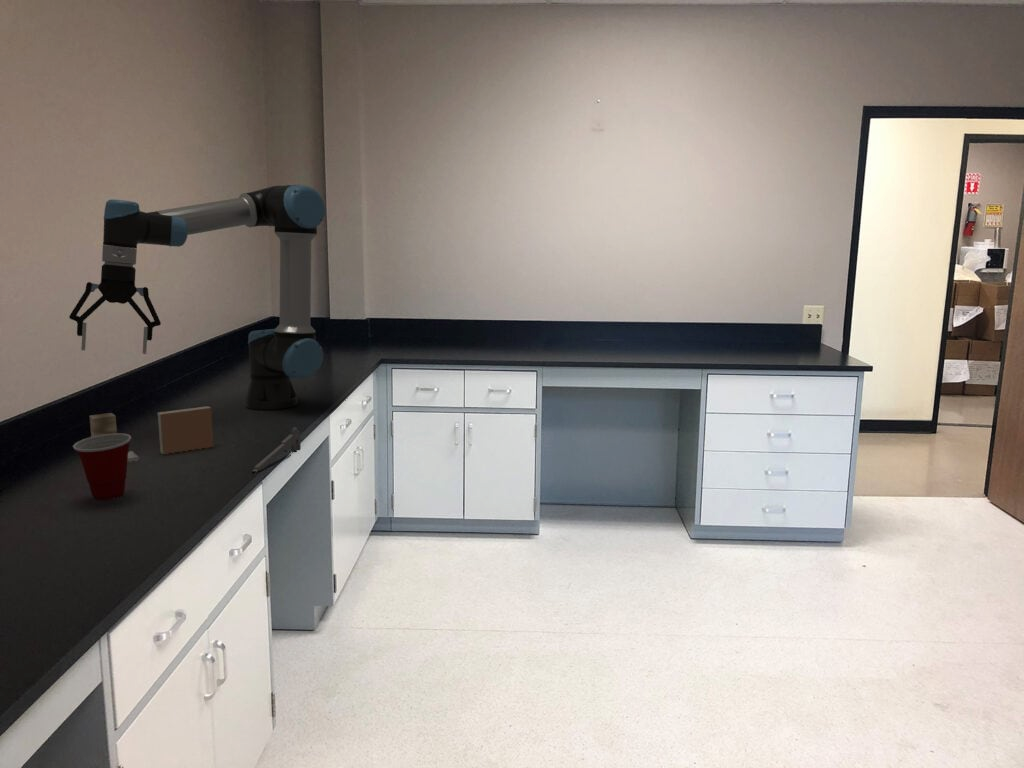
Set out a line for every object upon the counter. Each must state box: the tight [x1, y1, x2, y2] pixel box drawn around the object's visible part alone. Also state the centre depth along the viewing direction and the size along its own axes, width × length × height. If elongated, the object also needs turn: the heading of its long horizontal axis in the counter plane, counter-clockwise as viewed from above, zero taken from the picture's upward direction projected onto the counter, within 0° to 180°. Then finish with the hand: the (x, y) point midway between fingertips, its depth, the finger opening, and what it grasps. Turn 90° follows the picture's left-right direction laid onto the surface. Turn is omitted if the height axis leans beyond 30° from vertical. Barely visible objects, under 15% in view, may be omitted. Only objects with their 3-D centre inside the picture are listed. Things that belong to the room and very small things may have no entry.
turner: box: [88, 412, 140, 463], centre depth 206 cm, size 8×23×8 cm, turn 37°
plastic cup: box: [72, 432, 132, 501], centre depth 174 cm, size 11×11×12 cm
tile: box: [157, 406, 214, 455], centre depth 209 cm, size 12×2×10 cm, turn 127°
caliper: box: [252, 427, 302, 473], centre depth 201 cm, size 20×1×6 cm, turn 165°
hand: (114, 351), depth 210 cm, fingers open, 13 cm apart
